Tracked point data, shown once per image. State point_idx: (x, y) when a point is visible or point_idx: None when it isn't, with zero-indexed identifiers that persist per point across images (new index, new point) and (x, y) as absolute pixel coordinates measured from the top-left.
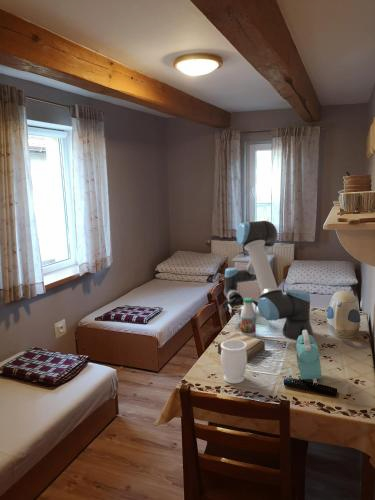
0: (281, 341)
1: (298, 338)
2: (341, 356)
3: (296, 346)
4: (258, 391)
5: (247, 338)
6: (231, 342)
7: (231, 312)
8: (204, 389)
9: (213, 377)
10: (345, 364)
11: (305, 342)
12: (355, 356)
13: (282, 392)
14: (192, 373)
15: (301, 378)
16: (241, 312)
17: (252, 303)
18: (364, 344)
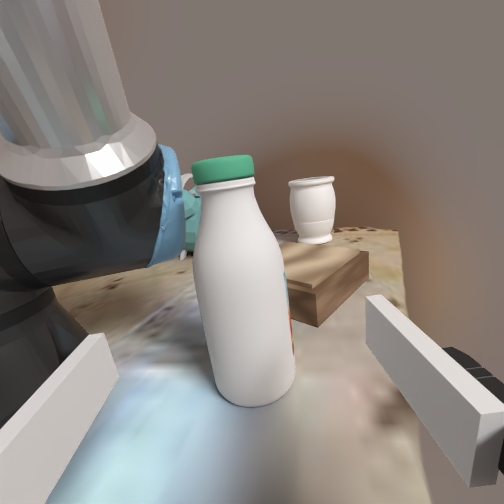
0: (145, 335)
1: (192, 196)
2: (80, 290)
3: (198, 211)
4: (280, 234)
5: None
6: (315, 185)
7: (368, 339)
8: (356, 228)
9: (350, 238)
10: (107, 275)
11: None
12: (54, 291)
13: None
14: (395, 238)
15: None
16: (277, 242)
17: (14, 440)
18: None
